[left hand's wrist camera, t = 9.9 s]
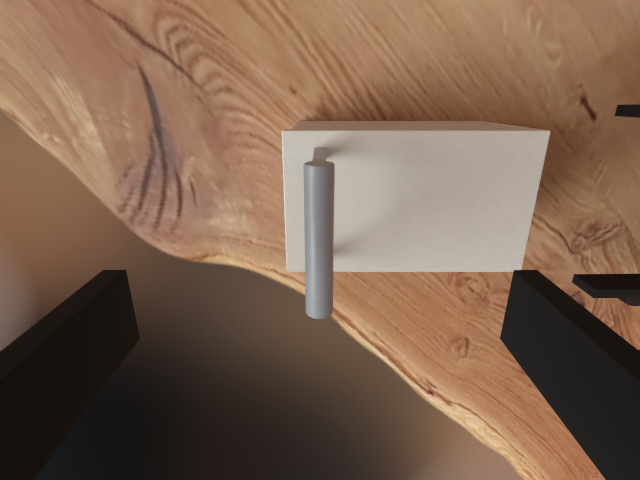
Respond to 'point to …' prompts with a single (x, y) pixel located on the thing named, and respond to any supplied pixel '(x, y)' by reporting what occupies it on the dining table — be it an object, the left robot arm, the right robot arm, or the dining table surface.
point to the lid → (407, 202)
